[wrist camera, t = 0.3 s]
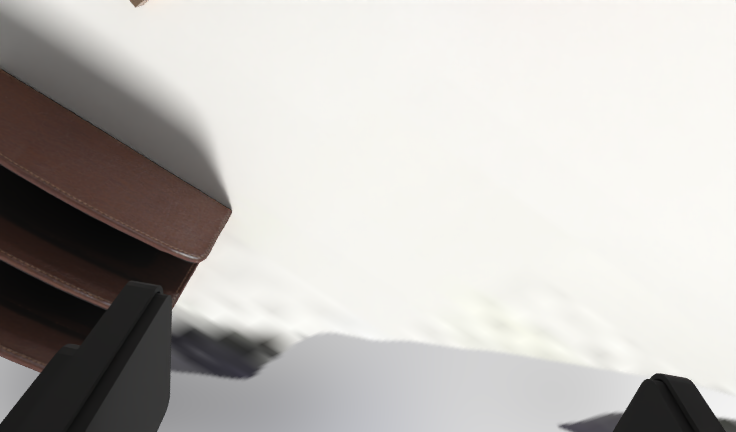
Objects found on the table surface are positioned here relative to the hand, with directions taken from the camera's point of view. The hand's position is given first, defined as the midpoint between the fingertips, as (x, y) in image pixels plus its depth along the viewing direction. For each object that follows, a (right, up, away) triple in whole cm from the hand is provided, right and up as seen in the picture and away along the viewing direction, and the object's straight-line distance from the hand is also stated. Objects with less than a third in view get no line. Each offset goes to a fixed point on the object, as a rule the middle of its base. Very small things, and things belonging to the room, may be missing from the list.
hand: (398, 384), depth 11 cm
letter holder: (-22, +6, +33) cm, 40 cm away
